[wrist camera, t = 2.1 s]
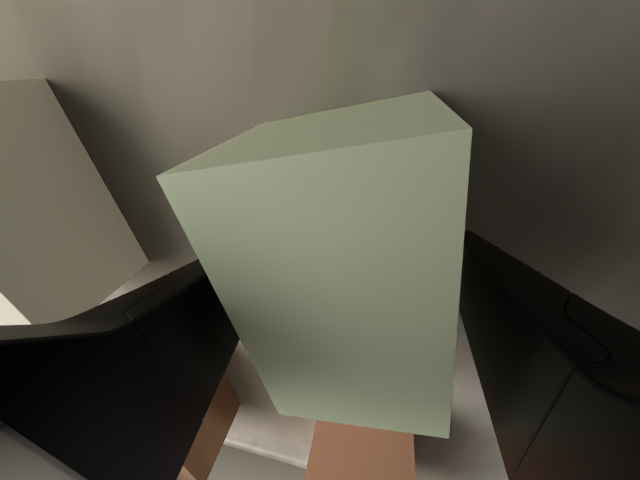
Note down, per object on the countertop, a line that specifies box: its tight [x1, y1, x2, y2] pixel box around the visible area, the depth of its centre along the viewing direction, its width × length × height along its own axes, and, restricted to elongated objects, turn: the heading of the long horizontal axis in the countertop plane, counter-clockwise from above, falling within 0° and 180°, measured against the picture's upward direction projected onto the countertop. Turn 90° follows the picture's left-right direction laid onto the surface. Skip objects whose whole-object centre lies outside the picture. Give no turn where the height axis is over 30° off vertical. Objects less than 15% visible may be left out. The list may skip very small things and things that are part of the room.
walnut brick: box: [177, 373, 240, 480], centre depth 17 cm, size 5×8×5 cm, turn 7°
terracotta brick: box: [304, 420, 416, 480], centre depth 16 cm, size 5×8×5 cm, turn 10°
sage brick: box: [156, 91, 472, 439], centre depth 8 cm, size 5×8×5 cm, turn 11°
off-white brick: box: [0, 79, 149, 325], centre depth 10 cm, size 5×8×5 cm, turn 7°
